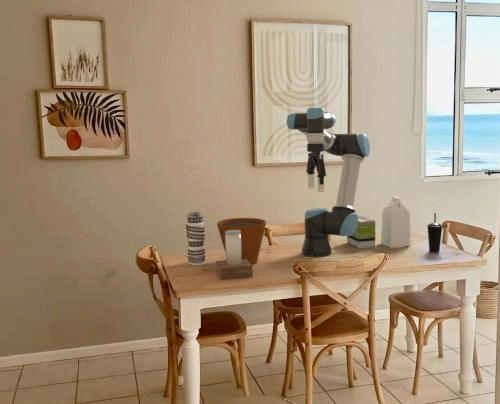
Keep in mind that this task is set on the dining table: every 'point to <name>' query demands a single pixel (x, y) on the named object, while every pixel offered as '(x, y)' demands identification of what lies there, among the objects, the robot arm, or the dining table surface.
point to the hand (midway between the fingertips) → (315, 190)
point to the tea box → (363, 234)
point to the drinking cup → (434, 236)
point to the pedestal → (234, 270)
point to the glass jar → (233, 247)
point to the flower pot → (245, 235)
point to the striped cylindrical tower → (195, 238)
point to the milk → (395, 225)
